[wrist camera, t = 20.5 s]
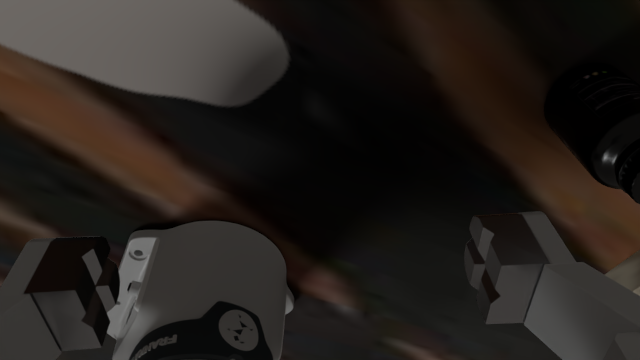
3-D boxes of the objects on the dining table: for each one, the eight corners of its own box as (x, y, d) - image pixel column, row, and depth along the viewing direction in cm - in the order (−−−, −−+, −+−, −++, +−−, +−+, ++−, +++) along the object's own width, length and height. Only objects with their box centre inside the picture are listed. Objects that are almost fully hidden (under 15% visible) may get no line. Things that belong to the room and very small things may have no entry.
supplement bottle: (622, 118, 45) (715, 205, 35) (543, 141, 46) (612, 231, 36) (625, 47, 41) (730, 123, 31) (538, 74, 42) (615, 156, 32)
